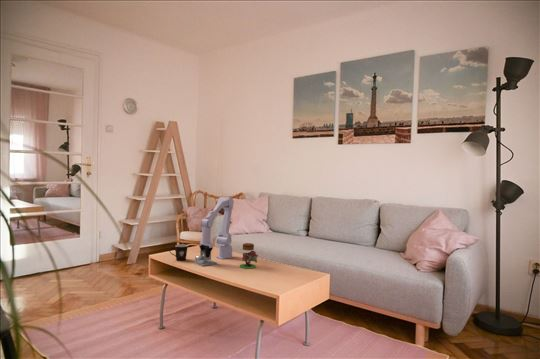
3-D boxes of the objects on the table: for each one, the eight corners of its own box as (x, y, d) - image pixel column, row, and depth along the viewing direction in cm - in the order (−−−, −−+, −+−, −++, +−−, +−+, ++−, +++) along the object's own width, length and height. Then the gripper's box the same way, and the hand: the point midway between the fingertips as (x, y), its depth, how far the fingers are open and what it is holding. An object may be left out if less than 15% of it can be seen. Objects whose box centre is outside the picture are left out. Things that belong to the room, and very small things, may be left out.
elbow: (207, 257, 247) (207, 249, 247) (211, 259, 243) (211, 250, 242) (194, 260, 241) (194, 251, 241) (198, 262, 237) (198, 253, 237)
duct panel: (208, 260, 251) (208, 254, 251) (217, 264, 242) (217, 258, 242) (194, 262, 244) (194, 256, 244) (202, 266, 235) (202, 260, 235)
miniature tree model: (255, 269, 232) (256, 246, 231) (236, 268, 234) (237, 245, 234) (259, 265, 243) (260, 243, 243) (241, 263, 246) (242, 241, 245)
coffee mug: (189, 258, 254) (189, 244, 254) (184, 261, 246) (185, 247, 245) (173, 257, 255) (173, 243, 255) (168, 260, 247) (168, 246, 246)
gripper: (195, 235, 246) (195, 254, 246) (206, 238, 235) (205, 259, 235) (205, 234, 250) (204, 253, 251) (215, 237, 239) (215, 258, 239)
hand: (205, 256), depth 243 cm, fingers closed on elbow, 5 cm apart
